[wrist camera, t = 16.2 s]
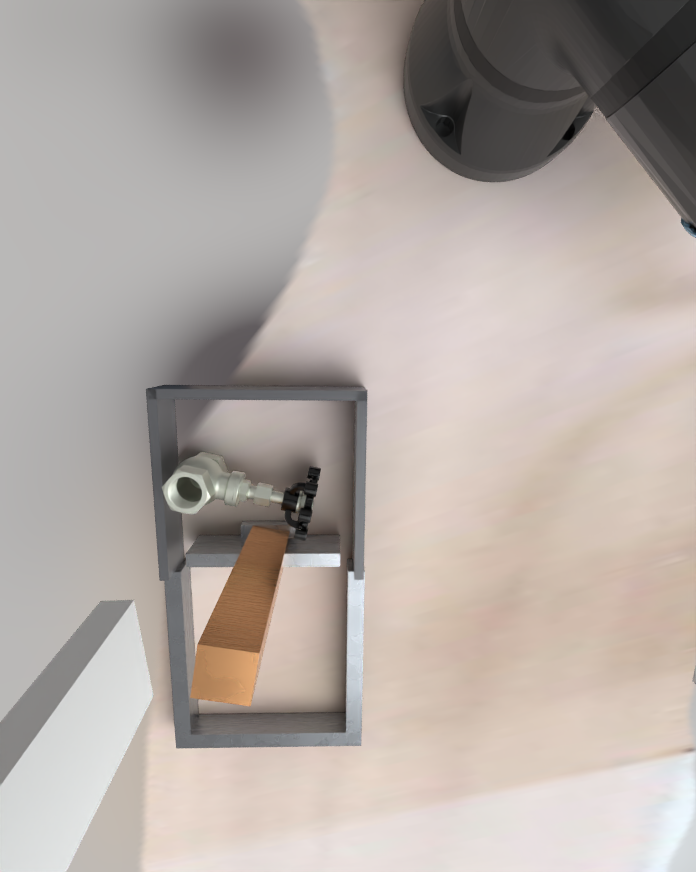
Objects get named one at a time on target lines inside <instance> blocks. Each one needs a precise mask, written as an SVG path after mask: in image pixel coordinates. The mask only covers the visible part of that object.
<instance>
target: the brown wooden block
mask: <svg viewBox="0 0 696 872" xmlns="http://www.w3.org/2000/svg"><path fill="white" fill-rule="evenodd" d="M295 530H296V528H293V527H291V526H289V525H288V524H287V522H286V521H243V522H242V524H241V535H199V536H198V538H197V539H196V541H195V542H194V543H193V545H192V546H191V547H190V549H189V550H188V552H187V553H186V567H233V569H232V572H231V574H230V576H229V578H228V580H227V582H226V584H225V587H224V589H223V591H222V593H221V595H220V597H219V600H218V602H217V604H216V606H215V608H214V610H213V612H212V615H211V617H210V619H209V621H208V623H207V625H206V627H205V630H204V632H203V634H202V636H201V638H200V640H199V643H198V645H197V653H196V660H195V667H194V674H193V681H192V688H191V695H190V698H194V699H202V700H209V701H216V702H223V703H230V704H238V705H245V706H251V702H252V698H253V693H254V689H255V685H256V681H257V677H258V672H259V668H260V664H261V660H262V655H263V651H264V647H265V643H266V638H267V634H268V630H269V626H270V622H271V617H272V613H273V609H274V605H275V600H276V596H277V592H278V588H279V583H280V579H281V575H282V571H283V567H340V535H307V537H306V540H305V541H301V540H297V539H294V535H295Z"/></svg>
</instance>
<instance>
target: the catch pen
mask: <svg viewBox="0 0 696 872" xmlns="http://www.w3.org/2000/svg"><path fill="white" fill-rule="evenodd" d="M146 396H147V410H148V425H149V439H150V453H151V466H152V480H153V494H154V508H155V522H156V534H157V535H156V536H157V549H158V564H159V577H160V581H169V580H170V579H171V577H172V576H173V574H174V573H175V572H176V570H177V569H178V567H179V566H180V565H181V563H182V562H183V560H184V546H183V529H182V513H181V512H177V511H173V510H171V509H170V507H169V505H168V503H167V501H166V499H165V496H164V493H163V490H162V487H163V485H164V484H165V483H166V482H167V481H168V480H169V478H170V477H171V476H172V475H173V473H174V471H175V469H176V467H177V466H178V465H179V463H178V447H177V430H176V415H175V399H213V400H329V401H355V431H354V499H353V570H354V580H364V530H365V480H366V430H367V390H366V389H365V387H323V386H215V385H211V386H210V385H162V386H157V387H153V388H148V389H146Z"/></svg>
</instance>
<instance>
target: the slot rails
mask: <svg viewBox="0 0 696 872" xmlns="http://www.w3.org/2000/svg"><path fill="white" fill-rule="evenodd" d="M364 581H365V570H364V580H354V570H353V559H347V632H346V712H345V713H264V714H199V712H198V699H194V698H190V695H191V688H192V681H193V674H194V667H195V643H194V626H193V609H192V592H191V574H190V567H186V559H184V560H183V562H182V563H181V565H180V566H179V567H178V569H177V570H176V572H175V573H174V574H173V576H172V577H171V579H170V580H169V581H165V596H166V610H167V624H168V638H169V653H170V667H171V681H172V696H173V710H174V724H175V738H176V748H231V747H299V746H361V729H362V679H363V630H364Z"/></svg>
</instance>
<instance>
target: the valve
mask: <svg viewBox="0 0 696 872" xmlns="http://www.w3.org/2000/svg"><path fill="white" fill-rule="evenodd" d="M320 471H321V468H317V467H312V466H310V467H309V471H308V476H307V478H308V479H310V481H309V482H306V483H296V484H294V485H292V486H291V488H286V489H285V493H283V492H278V491H273V490H274V486H273V485H270V484H265V483H260V482H259V483H258V485H257V486H254V485H252V484H251V480H246V479H245V473H244V472H239V471H232V473H231V474H230V473H228V470H227V468H226V465H225V462H224V459H223V457H222V456H220V455H215V454H210V453H206V452H200V453H199V454H198V455H196V456H194V457H190V458H188V459H186V460H184V461H182V462H181V463H180V464H179V465H178V466H177V467H176V469H175V471H174V473H173V475H172V476H171V477H170V478H169V480H168V481H167V482H166V483H165V484H164V485H163V487H162V490H163V493H164V496H165V499H166V501H167V503H168V505H169V507H170V509H171V510H173V511H177V512H181V513H186V514H194V515H195V514H196V513H197V512H198V511H199V510H200V509H201V508H202V506H203V505H206V504H209V503H210V502H212V501H214V500H215V499H220V500H224V503H225V505H229V506H234V507H237V506H238V504H239V502H240V501H242V502H246V501H247V499H254V504H257V505H262V506H266V507H268V506H269V505H270V503H271V502H273V503H278V504H282V506H281V510H283V511H285V520H286V522H287V524H288V525H289V526H291V527H293V528H297V529H296V530H295V535H294V539H297V540H301V541H305V540H306V537H307V532H308V528H307V526H308V523H310V520H311V516H312V507H313V502H314V497H315V496H316V492H317V488H318V484H317V482H318V480H319V476H320ZM303 491H304V492H303ZM298 510H299V517H298V521H294V520H292V519H291V513H292V512H293V513H297V514H298ZM299 529H301V530H299Z"/></svg>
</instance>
